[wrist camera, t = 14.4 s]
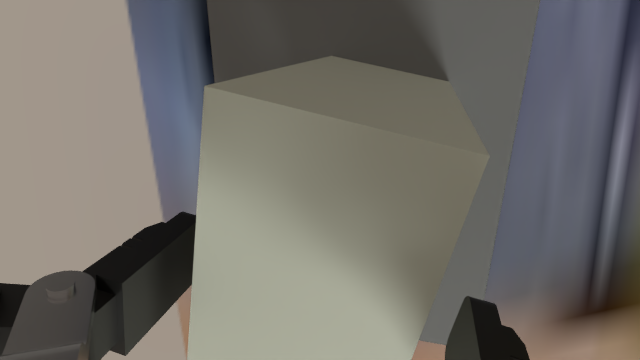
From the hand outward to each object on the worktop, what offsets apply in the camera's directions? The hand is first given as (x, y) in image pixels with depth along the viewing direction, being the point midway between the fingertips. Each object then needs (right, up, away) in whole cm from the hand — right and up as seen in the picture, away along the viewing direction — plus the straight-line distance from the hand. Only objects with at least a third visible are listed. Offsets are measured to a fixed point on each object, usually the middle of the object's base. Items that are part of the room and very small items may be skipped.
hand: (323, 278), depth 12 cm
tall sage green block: (0, -4, +7) cm, 8 cm away
